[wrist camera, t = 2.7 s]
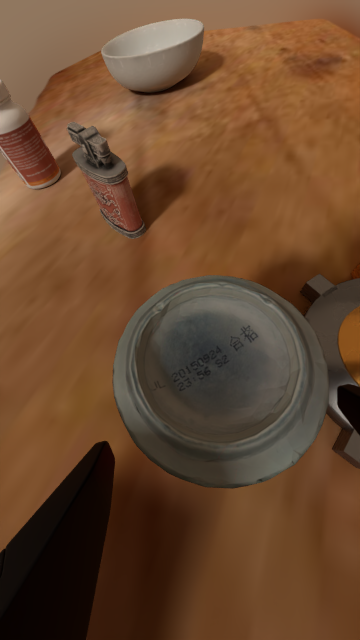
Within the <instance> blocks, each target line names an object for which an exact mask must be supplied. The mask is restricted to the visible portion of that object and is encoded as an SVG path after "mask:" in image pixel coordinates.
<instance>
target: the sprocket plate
mask: <svg viewBox="0 0 360 640" xmlns="http://www.w3.org/2000/svg"><path fill="white" fill-rule="evenodd" d="M351 276H352V278H353V280H349V281H346V282H343V283H340V284H338V285H336V286H335V285H333V284H332V283H331V282H329V281H328V280H327V279H326V278H324V277H323V276H322V275H321V274H318V275H317V276H315V277H314V278H312V279H311V280H309V281H308V282H306V283H305V285H304V287H303V288H302V290H301V291H300V292H301V293H302V294H303V295H304V296H305V297H306V298H308V299H309V300H310V301H311V302H312V303H313V304H312V305H311V307H310V308H309V309H308V311H307V312H306V313H305V315H304V317H305V319H306V320H307V321H308V323H309V324H310V325H311V327H312V328H313V330H314V331H315V333H316V334H317V336H318V339H319V341H320V343H321V346H322V348H323V350H324V355H325V359H326V363H327V369H328V377H329V404H328V407H327V411H326V413H327V415H328V416H329V417H330V418H331V419H332V420H333V421H334V422H335V423H336V424H338V425H339V426H340V427H341V428H342V431H341V433H340V435H339V437H338V439H337V441H336V443H335V445H334V446H333V448H332V450H333V451H335V452H336V453H338V454H339V455H340V456H342V457H343V458H344V459H346V460H347V461H348V462H350V463H351V464H352V465H354V466H355V467H356V468H359V469H360V436H359V434H358V433H357V432H356V430H355V429H354V428H353V427H352V425H351V424H350V423H349V421H348V420H347V419H346V418H345V416H344V415H343V414H342V412H341V411H340V410H339V408H338V405H337V387H338V386H340V385H345V384H352V385H355V386H358V387H360V263H359V265H358V266H357V267H356V268H355V269H354V270H353V271H352V273H351Z"/></svg>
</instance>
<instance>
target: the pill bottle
mask: <svg viewBox="0 0 360 640" xmlns="http://www.w3.org/2000/svg"><path fill="white" fill-rule="evenodd" d="M10 97H11V95H10V94H9V91H8V89H7V88H6V86H5V85H4V83H3V81H2V80H0V152H1V153H2V154H3V156H4V157H5V159H6V160H7V161H8V163H9V164H10V165H11V166H12V168H13V169H14V170H15V172H16V173H17V174H18V176H19V177H20V178H21V180H22V181H23V182H24V183H25V185H26V186H27V187H29V188H32V189H40V188H45V187H47V186H50V185H52V184H53V183H55V182H56V181H57V180H58V178H59V177H60V174H61V170H60V168H59V166H58V164H57V163H56V161H55V159H54V157H53V156H52V154H51V152H50V151H49V149H48V147H47V146H46V144H45V142H44V140H43V139H42V137H41V135H40V133H39V132H38V130H37V128H36V127H35V125H34V123H33V121H32V120H31V118H30V116H29V115H28V113H27V111H26V110H25V109H24V108H23V107H22V106H21V105H19V104H18V103H15V102H13V101H12V100H11V99H10Z"/></svg>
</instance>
